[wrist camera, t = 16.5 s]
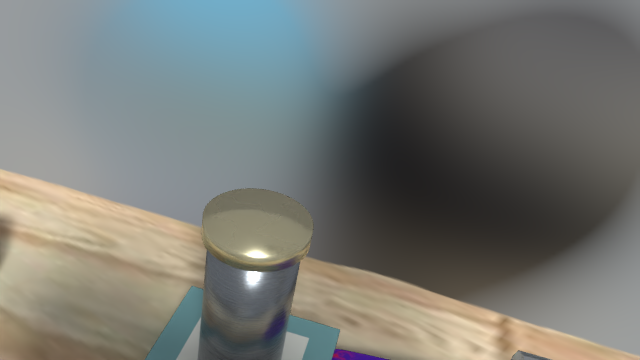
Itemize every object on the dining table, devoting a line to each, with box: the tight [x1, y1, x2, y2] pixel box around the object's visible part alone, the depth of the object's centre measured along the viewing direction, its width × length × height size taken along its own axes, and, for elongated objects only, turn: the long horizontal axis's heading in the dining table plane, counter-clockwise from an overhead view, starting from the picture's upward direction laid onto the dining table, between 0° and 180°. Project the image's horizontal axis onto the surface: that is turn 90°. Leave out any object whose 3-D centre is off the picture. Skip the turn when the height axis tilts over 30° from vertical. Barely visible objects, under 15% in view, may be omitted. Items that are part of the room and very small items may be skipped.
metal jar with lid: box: [197, 188, 313, 360], centre depth 38 cm, size 6×6×12 cm
